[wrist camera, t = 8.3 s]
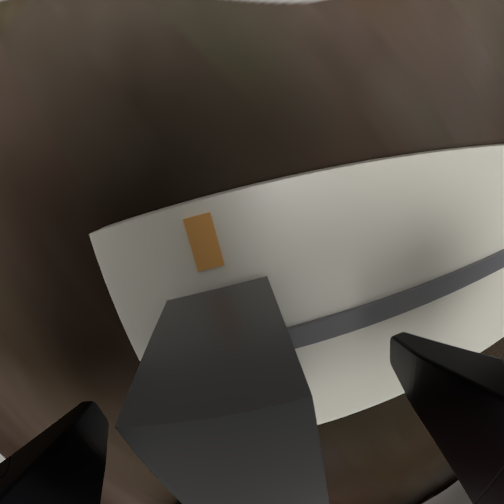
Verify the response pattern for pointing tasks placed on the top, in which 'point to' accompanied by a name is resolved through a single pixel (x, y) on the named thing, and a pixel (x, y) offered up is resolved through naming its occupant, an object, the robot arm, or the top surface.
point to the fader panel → (333, 262)
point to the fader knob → (225, 403)
